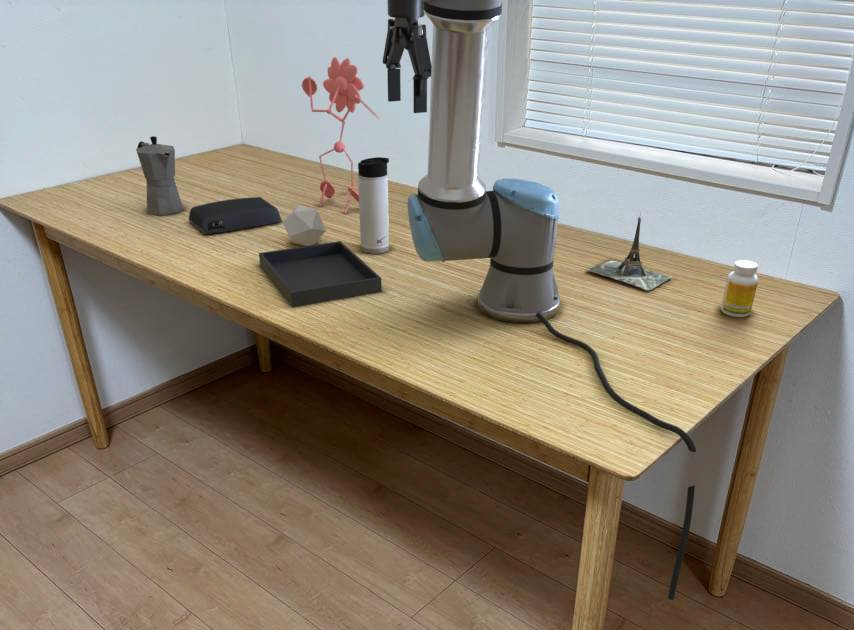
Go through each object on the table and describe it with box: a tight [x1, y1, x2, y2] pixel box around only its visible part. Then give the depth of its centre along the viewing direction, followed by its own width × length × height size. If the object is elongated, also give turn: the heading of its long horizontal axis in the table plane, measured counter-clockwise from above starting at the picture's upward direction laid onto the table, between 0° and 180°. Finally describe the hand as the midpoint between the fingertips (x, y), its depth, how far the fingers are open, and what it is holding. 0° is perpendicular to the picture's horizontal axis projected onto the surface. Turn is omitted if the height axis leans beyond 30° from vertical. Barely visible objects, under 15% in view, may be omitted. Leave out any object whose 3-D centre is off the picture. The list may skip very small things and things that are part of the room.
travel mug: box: [357, 156, 390, 255], centre depth 173 cm, size 6×7×20 cm
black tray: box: [258, 240, 383, 308], centre depth 162 cm, size 23×18×3 cm
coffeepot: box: [135, 135, 184, 216], centre depth 197 cm, size 15×9×18 cm, turn 44°
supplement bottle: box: [720, 259, 759, 318], centre depth 148 cm, size 5×5×10 cm
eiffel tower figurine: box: [587, 211, 674, 292], centre depth 162 cm, size 15×10×13 cm
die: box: [281, 204, 327, 247], centre depth 179 cm, size 8×9×10 cm
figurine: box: [301, 56, 380, 219], centre depth 198 cm, size 15×26×35 cm, turn 50°
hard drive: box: [188, 196, 283, 235], centre depth 192 cm, size 13×19×4 cm
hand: (406, 106), depth 170 cm, fingers open, 13 cm apart
